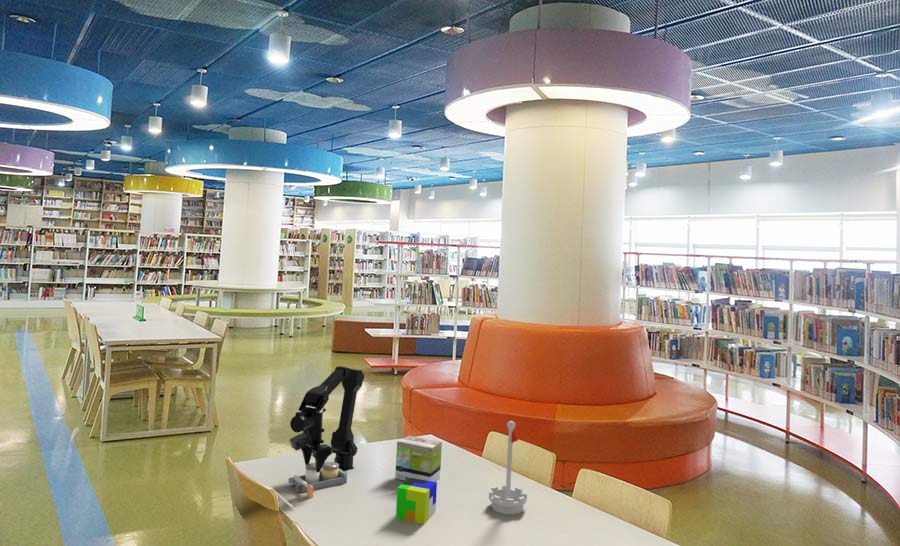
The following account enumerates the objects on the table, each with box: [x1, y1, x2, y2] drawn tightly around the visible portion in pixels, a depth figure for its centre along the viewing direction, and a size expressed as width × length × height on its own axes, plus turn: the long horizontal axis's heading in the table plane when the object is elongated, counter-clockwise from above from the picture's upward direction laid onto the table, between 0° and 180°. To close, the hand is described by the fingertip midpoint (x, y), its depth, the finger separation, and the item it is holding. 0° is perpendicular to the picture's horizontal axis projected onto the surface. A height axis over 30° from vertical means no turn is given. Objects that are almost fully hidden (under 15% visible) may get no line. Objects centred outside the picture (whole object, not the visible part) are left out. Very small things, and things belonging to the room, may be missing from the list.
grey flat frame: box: [287, 468, 348, 494], centre depth 213 cm, size 18×10×4 cm, turn 128°
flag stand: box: [488, 420, 528, 515], centre depth 200 cm, size 13×13×30 cm
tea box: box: [394, 435, 443, 482], centre depth 223 cm, size 15×10×15 cm, turn 68°
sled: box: [273, 474, 314, 499], centre depth 203 cm, size 10×14×4 cm
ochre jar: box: [321, 461, 339, 481], centre depth 216 cm, size 6×6×6 cm
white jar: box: [304, 462, 321, 484], centre depth 211 cm, size 5×5×7 cm
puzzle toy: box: [395, 478, 438, 525], centre depth 191 cm, size 10×10×10 cm
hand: (312, 468), depth 211 cm, fingers open, 9 cm apart
